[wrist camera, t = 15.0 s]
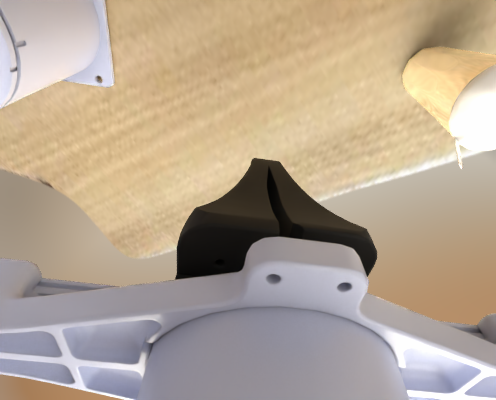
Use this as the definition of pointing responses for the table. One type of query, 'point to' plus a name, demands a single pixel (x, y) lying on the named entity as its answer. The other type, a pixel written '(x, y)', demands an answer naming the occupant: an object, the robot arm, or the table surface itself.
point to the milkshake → (457, 93)
